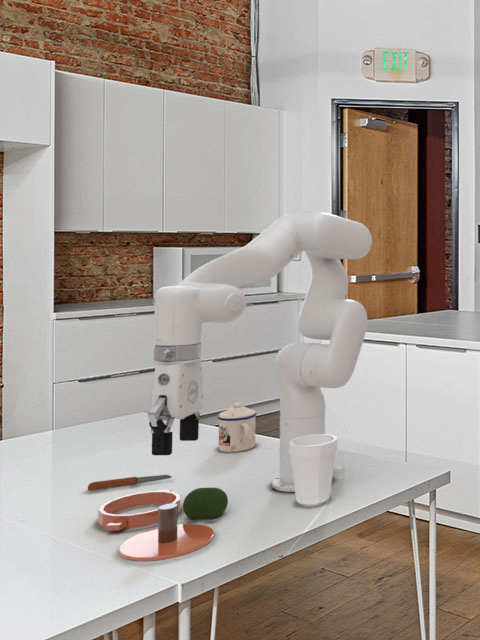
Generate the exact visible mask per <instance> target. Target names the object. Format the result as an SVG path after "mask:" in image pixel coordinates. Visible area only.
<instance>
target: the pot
mask: <svg viewBox="0 0 480 640" xmlns="http://www.w3.org/2000/svg"><path fill="white" fill-rule="evenodd" d="M165 504H177V505H178V514H179V513H180V512H181V508H182V495H180V494H179V493H177V492H176V491H172V489H159V490H150V491H149V490H148V491H140V492H136V493H131V494H127V495H121V496H120V497H116V498H114V499H111V500H108V501H106V502H105V503H103V504H102V505H100V506H99V509H98V511H97V513H98V515H97V524H98V525H100V526H101V527H102V528H104V529H105V531H106V532H108V531H109V532H110V531H111V532H112V531H113V532H115V531H121V530H131V529H135V528H136V529H137V528H143V527H148V526H152V525H155V524H158V508H156V509H153V510H148V511H143V512H137V513H129V514H128V513H127V514H125V513H124V514H123V513H121V514H117V512H120V511H123V510H126V509H127V510H128V509H131V508H134V507H135V508H136V507H140V506H148V505H165ZM115 513H116V514H115Z"/></svg>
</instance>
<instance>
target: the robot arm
mask: <svg viewBox="0 0 480 640" xmlns="http://www.w3.org/2000/svg"><path fill="white" fill-rule="evenodd" d="M372 245H373V237H372V234H371V231H370V229H368V227H367V226H366V225H364V224H363V223H361V222H359V221H357V220H351V219H348V218H345V217H342V216H339V215H335V214H331V213H328V212H321V211H317V212H316V211H314V212H313V211H312V212H311V211H310V212H306V211H305V212H303V211H298V212H296V211H295V212H289V213H285V214H283V215H282V216H280V217H279V218H277V219H276V220H274V222H273V223H271V224H270V225H268V227H267V228H265V229H264V230H263V231H262V232H260V233H259V234H258V235H257V236H256V237H254V238H253V239H252V240H251V241H249V242H248V243H247V244H246V245H244V246H242V247H240V248H237V249H235V250H232V251H230V252H228V253H226V254H224V255H222V256H219V257H217V258H214V259H212V260H211V261H208V262H206V263H205V264H203V265H201V266H200V267H198V268H196V269H195V270H194V271H192V272H191V273H190V274H189V275H187V276H186V277H185V278H184V279H182V280H181V281H180V282H179V283H178V284H177V285H169V286H168V285H167V286H163V287H160V288H158V289H157V290H156V291H155V295H154V323H153V324H154V325H153V328H154V329H153V331H154V333H153V364H155V367H154V373H153V382H152V392H151V408H150V409H149V410H148V412H147V418H148V420H149V423H148V424H149V427H150V433H151V455H152V456H171V455H172V454H173V431H171V429H172V427H173V424H174V422H175V420H179V441H180V442H193V441H194V442H196V441H198V440H199V430H200V429H199V428H200V427H199V425H200V422H199V421H200V416H201V413H200V410H202V408H203V407H204V378H203V368H202V362H201V361H202V326H203V325H202V324H204V323H213V324H225V323H230V322H234V321H235V320H236V319H238V318H240V317H241V316H242V315H243V314H244V312H245V310H246V308H247V307H246V306H247V298H246V296H245V294H244V292H243V291H242V290H241V289H240V288H239V287H242V286H246V285H252V284H256V283H260V282H263V281H266V280H269V279H272V278H274V277H276V276H277V275H278V274H279V273H280V272H281V271H282V270H283V269H284V268H286V267H287V266H288V265H289V264H290V263H291V262H292V261H293V260H294V259H295V258H296V257H298V256H299V255H300V254H301V253H303V252H304V254H305V255H306V258H307V260H308V263H309V266H310V271H311V277H310V281H309V285H308V288H307V291H306V294H305V297H304V299H303V303H302V305H301V308H300V311H299V314H298V318H297V322H296V324H297V325H296V327H297V331H298V333H299V334H300V335H301V336H302V337H304V338H308V339H311V340H320V341H321V340H322V341H329V343H328V344H326V343H316V342H292V343H289V344H287V345H285V346H284V347H282V348H281V349H280V350H279V352H278V353H277V355H276V358H275V361H274V372H275V377H276V381H277V385H278V393H279V475H277V476H275V477H274V478H273V479H272V481H271V487H272V489H274V490H276V491H279V492H285V493H295V487H294V480H293V473H292V465H291V458H290V454H289V442H290V440H292V439H294V438H296V437H300V436H305V435H312V434H326V400H325V396H324V393H323V391H322V389H321V388H324V389H338V388H343V387H344V386H345V385H347V384H348V382H350V381H351V378H352V376H353V374H354V373H355V372H354V371H355V369H356V366H357V363H358V360H359V356H360V353H361V349H362V347H363V343H364V340H365V337H366V333H367V329H368V314H367V313H368V312H367V310H366V308H365V307H364V305H363V304H362V303H361V302H359V301H357V300H354V299H346V296H347V292H348V289H349V283H350V282H349V276H348V273H347V271H346V268H345V267H344V265H343V263H342V261H341V260H359V259H360V260H361V259H363V258H364V257H365V256H367V255H368V254H369V253H370V251H371V250H372V249H371V248H372ZM164 421H165V422H164ZM344 473H345V468H344V466H342V464H334V469H333V476H334V477H343V476H344Z"/></svg>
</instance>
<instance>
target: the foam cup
mask: <svg viewBox="0 0 480 640" xmlns="http://www.w3.org/2000/svg"><path fill="white" fill-rule="evenodd" d="M337 451H338V436H336V435H334V434H329V433H325V434H312V435H305V436H300V437H296V438H294V439H292V440H290V442H289V454H290V458H291V465H292V473H293V480H294V487H295V492H294V495H295V501H296V502H297V504H298V505H299V504H300V505H306V506H307V505H309V506H310V505H318V504H322V503H324V502H326V503H325V504H327V503H329V501H330V497H331V490H332V482H333V476H334V475H333V469H334V465H335V461H336V455H337Z"/></svg>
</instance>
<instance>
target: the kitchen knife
mask: <svg viewBox="0 0 480 640" xmlns="http://www.w3.org/2000/svg"><path fill="white" fill-rule="evenodd" d="M168 479H172V476H171V474H159V475H158V474H157V475H150V476H149V475H147V476H138V477H137V476H131V477H130V476H129V477H122V478H115V479H106V480H98V481H93V482H92V481H91V482H90V483H89V484H88V485H87V490H88V491H99V490H106V489H107V490H108V489H113V488H120V487H128V486H129V487H130V486H136V485H138V484H144V483H151V482H157V481H162V480H168Z"/></svg>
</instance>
